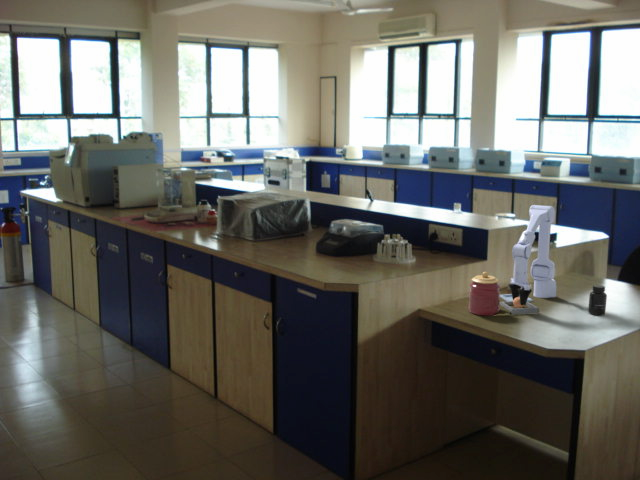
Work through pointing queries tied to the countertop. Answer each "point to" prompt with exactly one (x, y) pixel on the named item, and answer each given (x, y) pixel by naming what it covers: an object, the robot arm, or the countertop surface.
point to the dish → (509, 298)
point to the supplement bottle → (597, 300)
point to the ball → (517, 303)
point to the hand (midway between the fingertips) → (519, 302)
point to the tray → (520, 310)
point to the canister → (484, 295)
